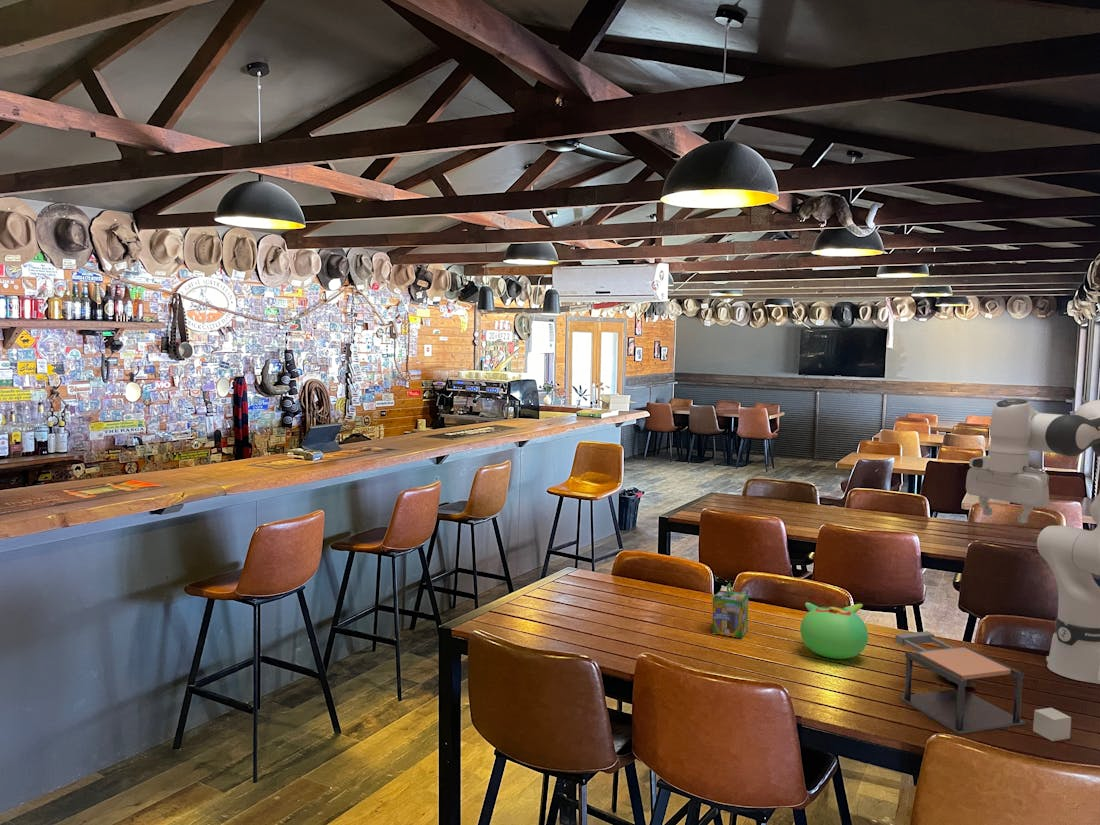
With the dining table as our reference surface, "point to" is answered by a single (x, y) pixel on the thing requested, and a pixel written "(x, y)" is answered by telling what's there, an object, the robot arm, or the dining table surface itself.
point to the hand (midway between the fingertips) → (1004, 518)
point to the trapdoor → (952, 657)
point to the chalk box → (730, 613)
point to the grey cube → (1052, 724)
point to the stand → (961, 701)
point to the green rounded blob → (834, 631)
